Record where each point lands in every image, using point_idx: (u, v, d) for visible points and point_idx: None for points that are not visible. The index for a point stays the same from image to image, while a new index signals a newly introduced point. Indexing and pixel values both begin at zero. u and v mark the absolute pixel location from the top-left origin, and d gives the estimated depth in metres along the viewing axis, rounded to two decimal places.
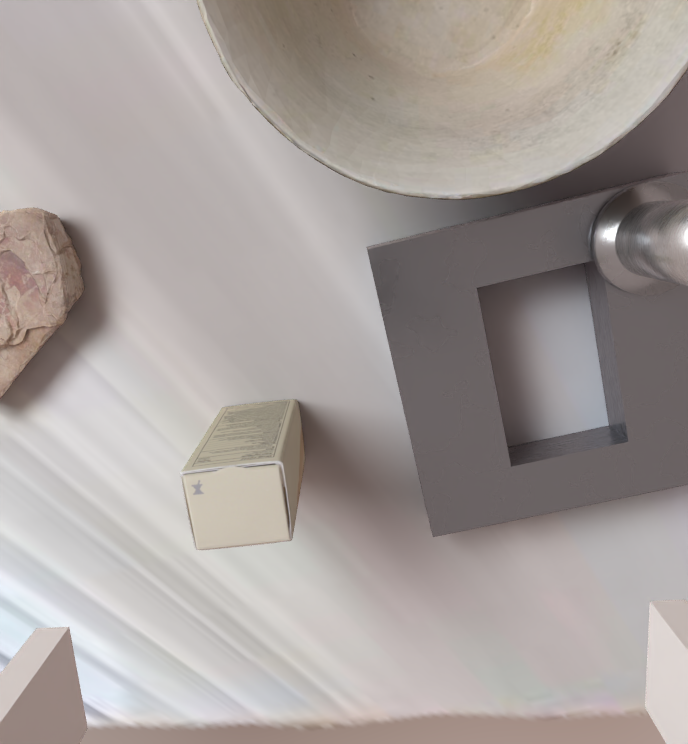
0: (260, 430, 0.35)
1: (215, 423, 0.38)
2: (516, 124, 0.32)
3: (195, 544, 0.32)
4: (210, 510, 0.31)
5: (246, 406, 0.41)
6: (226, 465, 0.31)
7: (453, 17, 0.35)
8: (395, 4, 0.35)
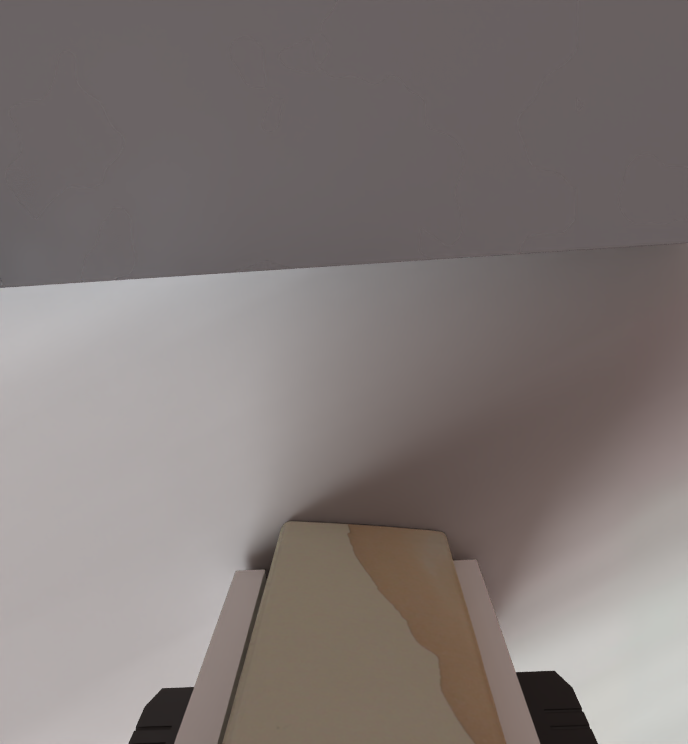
0: None
1: None
2: None
3: None
4: None
5: None
6: None
7: None
8: None
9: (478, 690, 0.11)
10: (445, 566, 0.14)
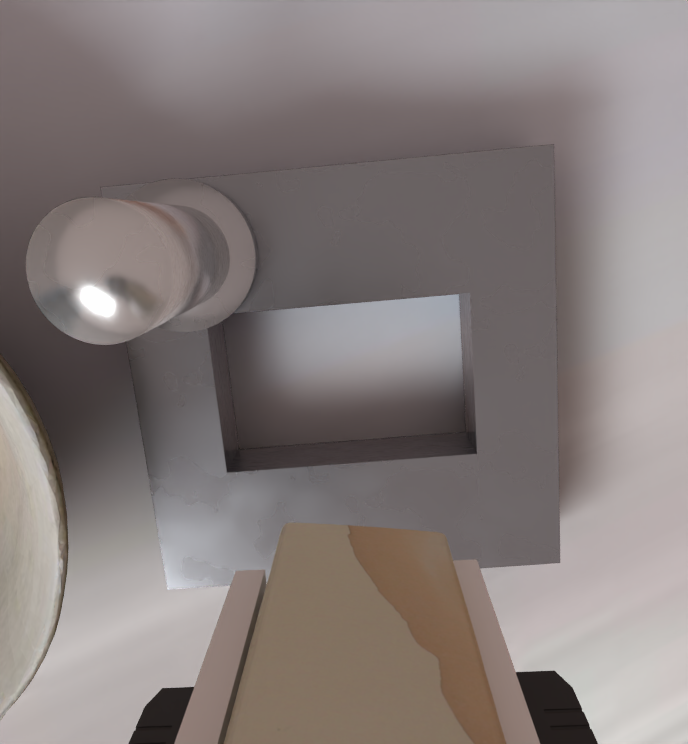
0: None
1: None
2: (8, 443, 0.26)
3: None
4: None
5: None
6: None
7: None
8: None
9: (478, 691, 0.11)
10: (445, 567, 0.14)
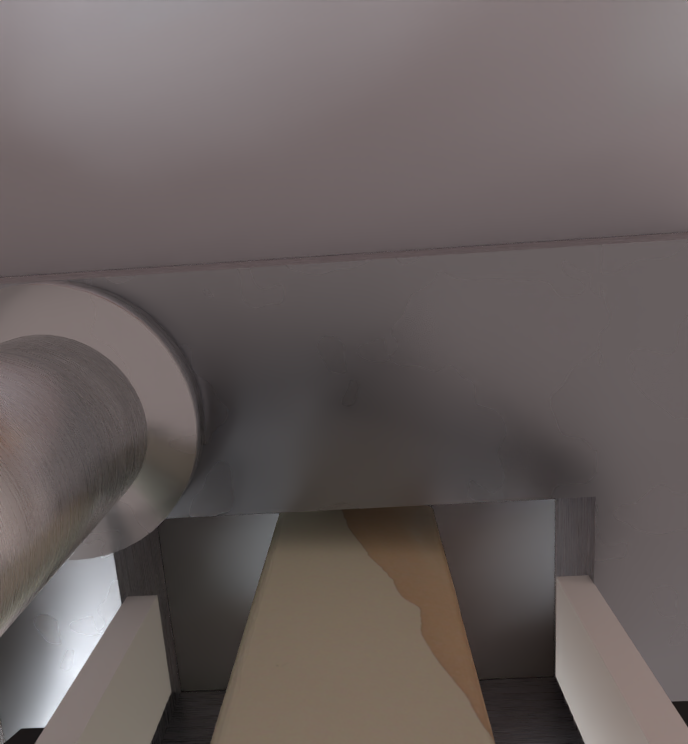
0: None
1: None
2: None
3: None
4: None
5: None
6: None
7: None
8: None
9: (454, 633, 0.12)
10: (430, 534, 0.16)
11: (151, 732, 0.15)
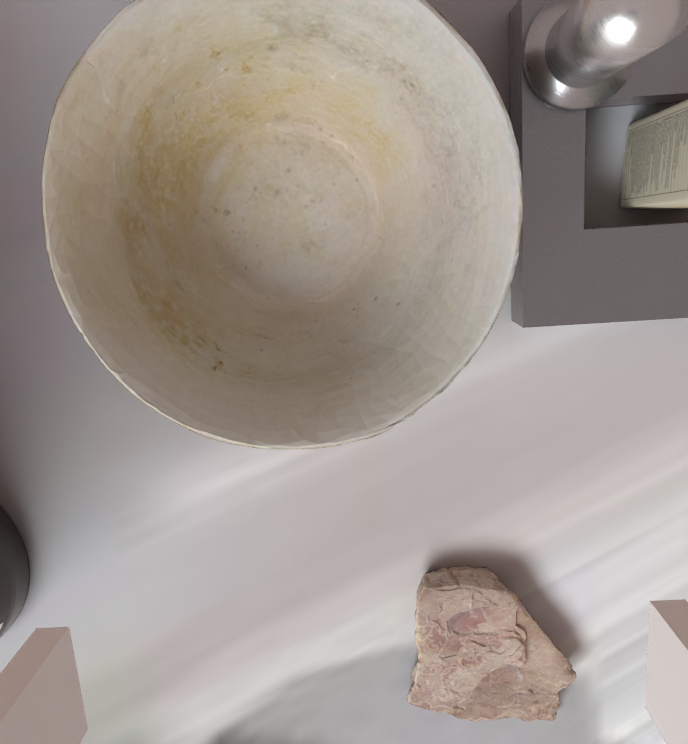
0: (670, 136, 0.33)
1: (644, 199, 0.36)
2: (453, 183, 0.34)
3: None
4: None
5: (625, 178, 0.39)
6: None
7: (334, 214, 0.40)
8: (315, 263, 0.40)
9: None
10: None
11: None
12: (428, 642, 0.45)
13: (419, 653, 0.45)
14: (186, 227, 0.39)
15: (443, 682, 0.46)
